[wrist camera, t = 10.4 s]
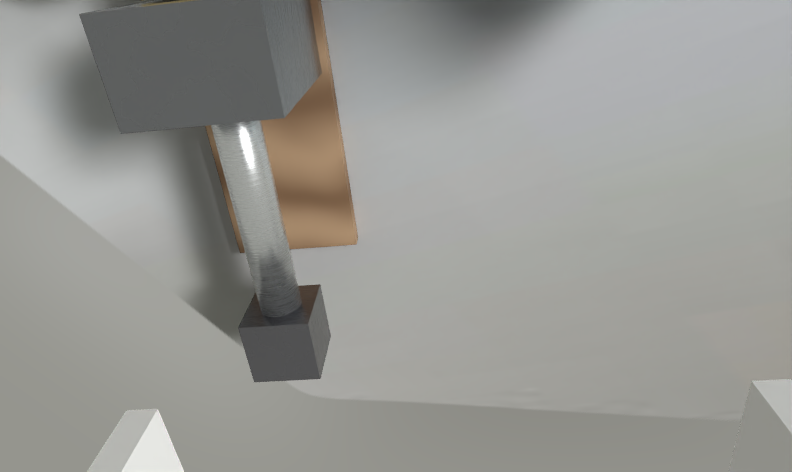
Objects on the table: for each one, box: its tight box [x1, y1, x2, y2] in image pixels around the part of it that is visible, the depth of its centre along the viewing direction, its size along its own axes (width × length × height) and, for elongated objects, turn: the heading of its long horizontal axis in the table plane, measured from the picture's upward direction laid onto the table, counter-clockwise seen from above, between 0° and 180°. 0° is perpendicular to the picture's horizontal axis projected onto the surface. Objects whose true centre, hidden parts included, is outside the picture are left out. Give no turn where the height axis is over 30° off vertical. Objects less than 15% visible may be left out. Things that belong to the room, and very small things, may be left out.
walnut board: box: [205, 0, 358, 253], centre depth 40 cm, size 26×10×1 cm, turn 6°
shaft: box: [211, 120, 331, 382], centre depth 37 cm, size 25×5×5 cm, turn 6°
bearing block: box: [79, 0, 322, 134], centre depth 33 cm, size 6×9×12 cm, turn 96°
